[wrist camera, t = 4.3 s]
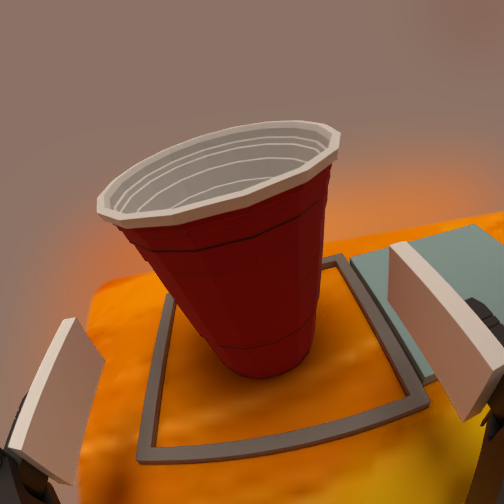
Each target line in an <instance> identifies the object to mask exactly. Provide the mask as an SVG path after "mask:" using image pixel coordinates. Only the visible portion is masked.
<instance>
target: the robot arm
mask: <svg viewBox="0 0 504 504" xmlns="http://www.w3.org/2000/svg"><path fill="white" fill-rule="evenodd" d="M387 300H388V302H389V303H390V305H391V306H392V308H393V309H394V311H395V312H396V314H397V315H398V317H399V318H400V320H401V321H402V323H403V324H404V326H405V327H406V329H407V330H408V332H409V333H410V335H411V336H412V338H413V340H414V341H415V343H416V344H417V346H418V347H419V349H420V351H421V352H422V354H423V355H424V357H425V359H426V360H427V362H428V363H429V365H430V367H431V368H432V370H433V372H434V373H435V375H436V377H437V378H438V380H439V382H440V383H441V385H442V387H443V389H444V390H445V392H446V394H447V395H448V397H449V399H450V401H451V402H452V404H453V406H454V408H455V410H456V411H457V413H458V415H459V417H460V419H461V421H462V422H465V421H467V420H468V419H470V418H472V417H474V416H475V415H477V414H479V413H480V412H481V411H482V410H483V408H484V407H485V405H486V403H488V405H489V407H490V408H491V409H490V411H489V412H488V414H487V415H486V416H485V418H484V419H483V421H482V423H481V425H480V426H484V424H485V423H486V422H487V425H486V430H485V435H484V439H483V444H482V448H481V452H480V456H479V460H478V464H477V467H476V471H475V474H474V478H473V481H472V484H471V487H470V490H469V493H468V496H467V499H466V502H465V504H504V325H503V324H502V323H501V324H500V321H499V320H498V319H497V317H496V316H493V313H492V312H491V311H490V310H489V309H488V307H487V306H486V305H485V304H484V303H482V302H480V301H478V300H476V299H475V298H473V297H471V298H469V299H466V300H463V299H462V298H461V297H460V296H459V295H458V293H457V292H456V291H455V290H454V289H453V288H452V287H451V286H450V285H449V284H448V283H447V282H446V281H445V280H444V279H443V278H442V277H441V275H440V274H439V273H438V272H437V271H436V270H435V269H434V268H433V267H432V266H431V265H430V264H429V263H428V262H427V261H426V260H425V259H424V258H423V257H422V256H421V255H420V254H419V253H418V252H417V251H416V250H415V249H414V248H412V247H411V246H410V245H409V244H408V243H407V242H406V241H403V242H399V243H395V244H392V245H389V272H388V295H387ZM104 363H105V360H104V358H103V357H102V355H101V354H100V353H99V351H98V350H97V348H96V347H95V345H94V344H93V343H92V341H91V340H90V338H89V337H88V335H87V334H86V332H85V331H84V329H83V328H82V326H81V324H80V323H79V321H78V320H77V318H76V317H75V318H70V319H64V320H63V321H62V323H61V325H60V327H59V329H58V331H57V333H56V335H55V337H54V339H53V341H52V343H51V345H50V347H49V349H48V351H47V353H46V355H45V357H44V359H43V361H42V363H41V365H40V367H39V369H38V372H37V374H36V376H35V378H34V381H33V383H32V385H31V387H30V390H29V391H28V392H27V394H26V395H25V396H24V398H23V399H22V402H21V404H20V407H19V411H18V412H17V414H16V419H14V422H13V425H12V427H11V430H10V433H9V436H8V438H7V442H6V444H5V447H4V449H1V448H0V504H61V503H60V501H59V499H58V497H57V495H56V493H55V490H54V488H53V486H52V485H51V484H50V483H49V482H47V481H48V477H50V478H52V479H53V480H55V481H56V482H58V483H61V484H65V485H70V486H73V485H74V480H75V475H76V470H77V465H78V460H79V456H80V451H81V447H82V442H83V438H84V434H85V430H86V426H87V422H88V418H89V415H90V411H91V407H92V404H93V400H94V397H95V393H96V390H97V386H98V383H99V380H100V376H101V373H102V370H103V367H104Z"/></svg>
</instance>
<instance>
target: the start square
mask: <svg viewBox="0 0 504 504" xmlns="http://www.w3.org/2000/svg"><path fill="white" fill-rule="evenodd" d="M333 266H337V268H338V269H339V271H340V273H341V274H342V276H343V278H344V279H345V281H346V283H347V285H348V286H349V288H350V290H351V292H352V293H353V295H354V297H355V299H356V300H357V302H358V304H359V306H360V308H361V309H362V311H363V313H364V315H365V316H366V318H367V320H368V322H369V324H370V326H371V327H372V329H373V331H374V333H375V335H376V337H377V339H378V340H379V342H380V344H381V346H382V348H383V350H384V352H385V354H386V356H387V358H388V359H389V361H390V363H391V365H392V367H393V369H394V371H395V373H396V375H397V377H398V379H399V381H400V383H401V385H402V387H403V389H404V391H405V393H406V395H407V397H405V398H402V399H400V400H397V401H394V402H392V403H389V404H386V405H383V406H380V407H377V408H374V409H371V410H368V411H365V412H362V413H359V414H356V415H353V416H349V417H346V418H342V419H339V420H335V421H332V422H328V423H324V424H320V425H316V426H312V427H308V428H304V429H299V430H295V431H290V432H286V433H281V434H275V435H270V436H264V437H259V438H252V439H246V440H239V441H232V442H224V443H215V444H205V445H193V446H178V447H156V438H157V429H158V420H159V412H160V404H161V396H162V389H163V382H164V375H165V368H166V362H167V355H168V349H169V343H170V337H171V331H172V325H173V319H174V314H175V308H176V301H175V300H174V299H173V297H172V296H171V294H170V293H168V294H166V298H165V303H164V307H163V311H162V316H161V320H160V325H159V329H158V334H157V338H156V343H155V348H154V353H153V358H152V363H151V368H150V373H149V378H148V384H147V389H146V395H145V401H144V407H143V413H142V419H141V425H140V432H139V439H138V446H137V453H136V461H137V462H138V463H140V464H186V463H203V462H215V461H225V460H234V459H242V458H250V457H256V456H263V455H269V454H275V453H280V452H285V451H290V450H295V449H300V448H304V447H309V446H313V445H317V444H321V443H325V442H329V441H333V440H336V439H340V438H343V437H347V436H350V435H353V434H357V433H360V432H363V431H366V430H369V429H372V428H375V427H378V426H381V425H384V424H387V423H389V422H392V421H395V420H397V419H400V418H403V417H405V416H408V415H410V414H413V413H415V412H417V411H420V410H422V409H424V408H427V407H429V405H430V403H431V401H430V399H429V397H428V395H427V393H426V391H425V389H424V387H423V386H422V384H421V382H420V380H419V378H418V376H417V375H416V373H415V371H414V369H413V367H412V366H411V364H410V362H409V360H408V358H407V357H406V355H405V353H404V351H403V350H402V348H401V346H400V345H399V343H398V341H397V339H396V338H395V336H394V334H393V333H392V331H391V329H390V328H389V326H388V324H387V323H386V321H385V319H384V318H383V316H382V314H381V313H380V311H379V309H378V308H377V306H376V305H375V303H374V301H373V300H372V298H371V297H370V295H369V293H368V292H367V290H366V289H365V287H364V286H363V284H362V282H361V281H360V279H359V278H358V276H357V275H356V273H355V272H354V270H353V269H352V267H351V266H350V264H349V263H348V261H347V260H346V258H345V257H344V255H343V254H342V253H341V254H337V255H333V256H328V257H324V258H322V267H321V269H325V268H329V267H333Z"/></svg>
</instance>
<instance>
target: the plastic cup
mask: <svg viewBox="0 0 504 504" xmlns="http://www.w3.org/2000/svg"><path fill="white" fill-rule="evenodd" d="M340 135H341V133H340V132H338V131H336V130H335V129H333V128H331V127H330V126H328V125H326V124H321V123H315V122H308V121H300V120H298V121H297V120H296V121H271V122H262V123H256V124H249V125H243V126H237V127H232V128H228V129H224V130H221V131H217V132H213V133H209V134H206V135H203V136H199V137H196V138H193V139H190V140H188V141H185V142H182V143H180V144H177V145H175V146H172V147H170V148H167V149H165V150H163V151H161V152H159V153H157V154H155V155H153V156H151V157H149V158H147V159H145V160H143V161H141V162H139V163H137V164H136V165H134V166H133V167H131V168H130V169H128V170H127V171H126V172H124V173H123V174H121V175H120V176H118V177H117V178H116V179H114V180H113V181H112V182H111V183H110V184H109V185H108V186H107V187H106V188H105V190H104V191H103V192H102V193H101V194H100V195H99V197H98V198H97V213H98V214H99V215H100V217H101V218H102V219H103V220H104V221H107V222H110V223H112V224H113V225H115V226H117V228H118V229H119V230H120V231H122V232H123V233H124V235H125V236H126V238H127V239H128V240H129V242H130V243H132V244H134V245H135V247H136V248H137V250H138V251H139V253H140V254H141V255H142V257H143V258H144V260H145V261H148V262H149V264H150V265H151V266H152V268H153V270H154V271H155V273H156V274H157V276H158V277H159V278H160V280H161V281H162V283H163V284H164V286H165V287H166V289H167V290H168V291H169V293H170V294H171V296H172V297H173V299H174V300H175V301H176V303H177V304H178V306H179V307H180V308H181V310H182V311H183V313H184V314H185V315H186V317H187V318H188V319H189V321H190V322H191V324H192V325H193V326H194V328H195V329H196V330H197V332H198V333H199V334H200V336H202V337H203V338H205V339H206V341H207V342H208V343H209V345H210V346H211V348H212V349H213V350H214V352H215V353H216V354H217V356H218V357H219V359H220V360H221V361H222V363H223V364H225V365H227V366H228V368H229V369H231V370H233V371H234V372H236V373H238V374H240V375H241V376H245V377H252V378H260V379H262V378H267V377H272V376H277V375H281V374H283V373H285V372H286V371H288V370H290V369H292V368H294V367H295V366H297V365H298V364H299V363H300V362H301V361H302V359H303V358H304V357H305V356H306V355H307V353H308V352H309V348H310V346H311V343H312V339H313V335H314V330H315V319H316V307H317V302H318V298H319V292H320V280H321V267H322V253H323V238H324V219H325V207H326V203H327V194H328V184H329V179H330V169H331V166H332V163H333V162H334V161H335V160H336V159H337V154H338V148H339V142H340Z"/></svg>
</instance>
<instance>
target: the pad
mask: <svg viewBox="0 0 504 504" xmlns="http://www.w3.org/2000/svg"><path fill="white" fill-rule="evenodd" d="M407 243H408V244H409V245H410V246H411V247H412V248H414V249H415V250H416V251H417V252H418V253H419V254H420V255H421V256H422V257H423V258H424V259H425V260H426V261H427V262H428V263H429V264H430V265H431V266H432V267H433V268H434V269H435V270H436V271H437V272H438V273H439V274H440V275H441V277H442V278H443V279H444V280H445V281H446V282H447V283H448V284H449V285H450V286H451V287H452V288H453V289H454V290H455V291H456V292H457V293H458V295H459V296H460V297H461V298H462V299H463V300H466V299H469V298H471V297H473V298H475V299H476V300H478V301H480V302H482V303H484V304H485V305H486V306H487V307H488V309H489V310H490V311H491V312H492V313H493V316H496V317H497V319H498V320H499V321H500V324H501V323H502V324H503V325H504V246H503V245H502V244H501V243H500V242H498V241H497V240H496V239H494V238H493V237H492V236H490V235H489V234H488V233H486V232H485V231H484V230H482V229H481V228H479V227H478V226H477V225H475V224H472V225H468V226H465V227H461V228H458V229H454V230H451V231H447V232H443V233H440V234H436V235H433V236H429V237H425V238H422V239H418V240H414V241H411V242H407ZM350 266H351V267H352V269H353V270H354V272H355V273H356V275H357V276H358V278H359V279H360V281H361V282H362V284H363V286H364V287H365V289H366V290H367V292H368V293H369V295H370V297H371V298H372V300H373V301H374V303H375V305H376V306H377V308H378V309H379V311H380V313H381V314H382V316H383V318H384V319H385V321H386V323H387V324H388V326H389V328H390V329H391V331H392V333H393V334H394V336H395V338H396V339H397V341H398V343H399V345H400V346H401V348H402V350H403V351H404V353H405V355H406V357H407V358H408V360H409V362H410V364H411V366H412V367H413V369H414V371H415V373H416V375H417V376H418V378H419V380H420V382H421V384H422V386H424V385H426V384H429V383H431V382H433V381H436V380H438V378H437V377H436V375H435V373H434V372H433V370H432V368H431V367H430V365H429V363H428V362H427V360H426V359H425V357H424V355H423V354H422V352H421V351H420V349H419V347H418V346H417V344H416V343H415V341H414V340H413V338H412V336H411V335H410V333H409V332H408V330H407V329H406V327H405V326H404V324H403V323H402V321H401V320H400V318H399V317H398V315H397V314H396V312H395V311H394V309H393V308H392V306H391V305H390V303H389V302H388V300H387V295H388V272H389V247H388V248H384V249H380V250H377V251H373V252H369V253H365V254H361V255H357V256H353V257H350Z"/></svg>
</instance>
